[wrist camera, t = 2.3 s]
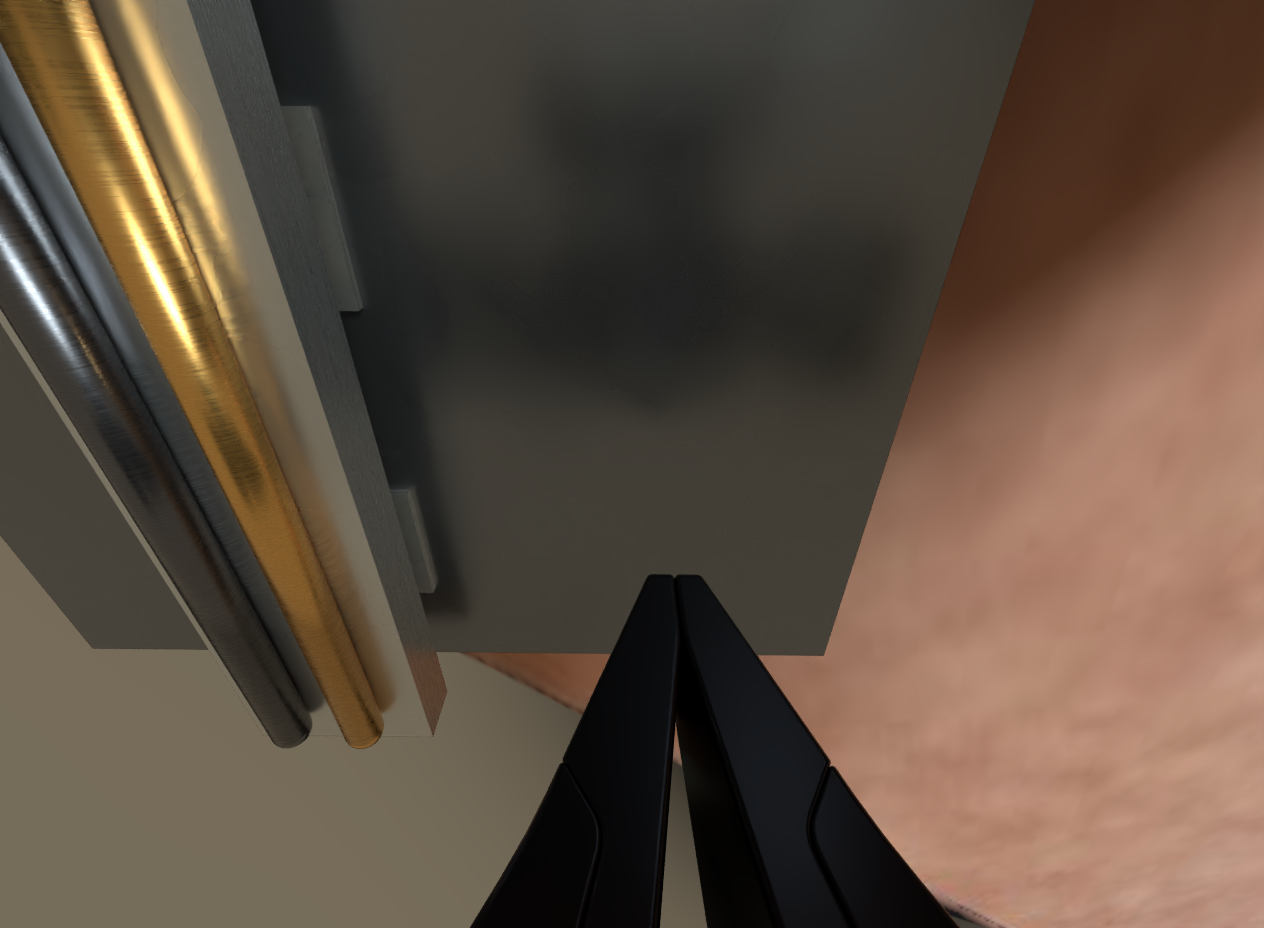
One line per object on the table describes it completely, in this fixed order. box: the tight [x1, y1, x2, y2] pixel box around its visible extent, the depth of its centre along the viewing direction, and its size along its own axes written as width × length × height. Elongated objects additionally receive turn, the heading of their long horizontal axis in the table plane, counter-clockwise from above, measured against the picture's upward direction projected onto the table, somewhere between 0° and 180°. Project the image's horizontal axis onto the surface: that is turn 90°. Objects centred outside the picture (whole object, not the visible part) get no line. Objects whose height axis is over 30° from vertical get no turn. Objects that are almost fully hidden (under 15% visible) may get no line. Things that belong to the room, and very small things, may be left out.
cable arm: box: [0, 0, 447, 749], centre depth 8 cm, size 4×18×3 cm, turn 179°
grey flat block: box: [0, 0, 1035, 656], centre depth 12 cm, size 20×18×4 cm
